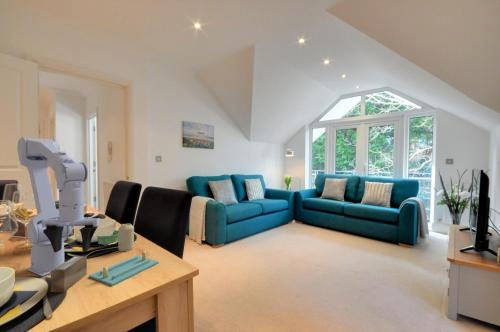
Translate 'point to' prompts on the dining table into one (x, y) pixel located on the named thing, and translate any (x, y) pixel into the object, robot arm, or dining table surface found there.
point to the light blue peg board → (124, 269)
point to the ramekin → (108, 238)
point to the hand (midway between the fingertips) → (71, 250)
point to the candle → (126, 237)
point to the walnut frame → (68, 274)
